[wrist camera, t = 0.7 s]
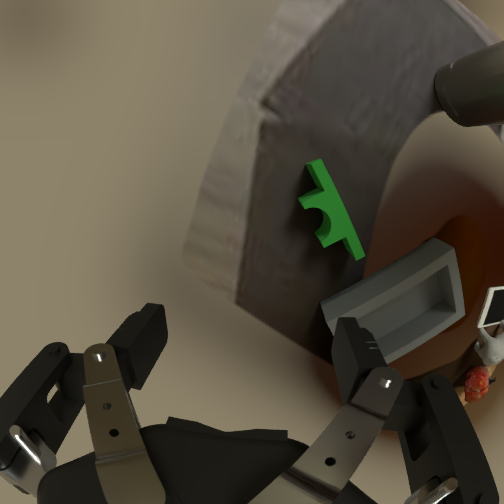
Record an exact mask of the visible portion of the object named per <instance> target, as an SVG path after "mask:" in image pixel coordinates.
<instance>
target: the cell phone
mask: <svg viewBox="0 0 504 504" xmlns="http://www.w3.org/2000/svg"><path fill="white" fill-rule="evenodd" d="M502 320H504V286H500V287H491V288H489V289H488V291H487V295H486V298H485V301H484V305H483V308H482V311H481V314H480V317H479V320H478V322H477V327H478V328H482V327H486V326H491V325H495V324H499V323H500V322H501V321H502Z"/></svg>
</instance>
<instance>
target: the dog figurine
mask: <svg viewBox="0 0 504 504" xmlns="http://www.w3.org/2000/svg"><path fill="white" fill-rule="evenodd" d="M499 325H500V326H499V327H501V328H502V329H503V333H502V334H500V335H497V336H496V337H495V338H493V337H491V336H489V335H488V334H487V333H486V331H485V330H484V328H483V327H482V328H480V330H479V334H480V335H481V337H482V339H483V341H484V346H483V347H482V348H480V347H479V342H477V343H476V344H475V346H474V349H475V350H476V352H477V353H478V354H479V356H480V357H481V358H482V361H483V363H484V364H485V365H487V366H491V365H495V364H499V363H500V362H501V360H504V320H502V321H501V322H500V323H499Z"/></svg>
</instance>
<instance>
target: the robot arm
mask: <svg viewBox="0 0 504 504" xmlns="http://www.w3.org/2000/svg"><path fill="white" fill-rule="evenodd" d="M435 90H436V94H437V97H438V99H439V102H440V104H441V106H442V108H443V109H444V111H445V112H446V114H447V115H448V116H449V117H450V118H451V119H452V120H453V121H454V122H456V123H457V124H459V125H461V126H465V127H472V126H483V125H498V124H504V41H501V42H499V43H496V44H494V45H491V46H489V47H486V48H484V49H481V50H479V51H477V52H474V53H472V54H470V55H467V56H465V57H463V58H460V59H458V60H456V61H454V62H451V63H449V64H447V65H445V66H443V67H441V68H440V69H439V70H438V72H437V73H436V77H435ZM167 338H168V330H167V323H166V316H165V309H164V306H163V305H162V304H154V303H147V304H146V305H145V306H144V307H143V308H142V309H141V311H140V312H135V313H133V314H132V315H130V316H129V317H128V318H127V319H126V320H125V321H124V322H123V324H121V326H120V327H119V328H118V329H117V330H116V331H115V333H114V334H113V335H112V336H111V337H110V338H109V339H108V341H107V342H106V343H105V344H104V343H99V344H95V345H92V346H90V347H88V348H87V349H86V350H85V352H84V353H70V352H69V349H68V346H67V345H66V344H64V343H62V342H54V343H51V344H48V345H47V346H45V347H44V348H43V349H42V350H41V352H40V353H39V354H38V355H37V356H36V357H35V358H34V359H33V360H32V361H31V362H30V364H29V365H28V366H27V367H26V368H25V369H24V370H23V371H22V373H21V374H20V375H19V376H18V377H17V378H16V380H15V381H14V382H13V383H12V384H11V385H10V387H9V388H8V389H7V390H6V392H5V393H4V394H3V395H2V397H1V398H0V476H2V477H3V478H4V479H5V480H6V481H7V482H9V483H10V484H12V485H13V486H15V487H16V488H17V489H18V490H20V491H21V492H22V493H25V494H31V495H33V496H34V497H36V498H37V504H377V503H376V502H375V501H374V500H372V499H371V498H370V497H369V496H367V495H366V494H365V493H364V492H363V491H361V490H360V489H359V488H358V487H357V486H355V485H354V484H353V483H352V482H350V481H349V479H350V478H351V477H352V475H353V474H354V472H355V471H356V469H357V468H358V466H359V465H360V463H361V462H362V460H363V459H364V457H365V456H366V454H367V452H368V451H369V449H370V448H371V446H372V444H373V443H374V441H375V439H376V437H377V436H378V434H379V432H380V430H381V429H384V430H391V431H397V432H398V435H399V439H400V443H401V448H402V452H403V456H404V460H405V465H406V470H407V475H408V479H409V485H410V489H411V496H410V497H408V499H407V500H406V501H405V503H404V504H499V495H498V491H497V487H496V484H495V481H494V479H493V476H492V473H491V470H490V467H489V464H488V462H487V459H486V456H485V454H484V452H483V449H482V447H481V444H480V442H479V439H478V437H477V435H476V433H475V430H474V428H473V426H472V424H471V421H470V419H469V417H468V415H467V413H466V411H465V409H464V407H463V405H462V403H461V401H460V399H459V397H458V395H457V393H456V391H455V389H454V387H453V386H452V384H451V382H450V381H449V380H448V379H447V378H446V377H444V376H442V375H440V374H429V375H427V376H425V377H424V379H423V380H422V382H421V383H416V382H409V381H404V380H403V378H402V375H401V374H400V373H399V372H398V371H396V370H395V369H392V368H389V367H388V366H387V363H386V361H385V359H384V357H383V355H382V353H381V351H380V348H379V346H378V344H377V343H376V340H375V338H374V336H373V334H372V333H371V332H370V331H368V330H367V329H366V328H360V326H359V324H358V322H357V320H356V318H355V317H339V318H338V320H337V324H336V329H335V334H334V338H333V343H332V349H331V355H332V361H333V365H334V369H335V373H336V377H337V382H338V386H339V391H340V395H341V400H342V405H343V407H342V409H341V410H340V411H339V413H338V414H337V415H336V416H335V418H334V419H333V420H332V421H331V423H330V424H329V425H328V426H327V427H326V429H325V430H324V431H323V432H322V433H321V435H320V436H319V437H318V438H317V439H316V441H315V442H314V443H313V444H312V445H311V446H310V447H309V446H308V445H306V444H304V443H302V442H299V441H296V440H293V439H289V438H287V437H288V436H287V435H288V434H287V432H288V431H287V430H268V429H252V430H244V431H233V432H224V431H220V430H218V429H215V428H212V427H209V426H206V425H204V424H201V423H199V422H195V421H189V420H184V419H179V418H174V417H169V418H168V420H167V422H166V424H156V425H151V426H147V427H143V428H141V425H140V423H139V420H138V417H137V415H136V412H135V409H134V407H133V404H132V401H131V398H130V395H129V391H130V389H131V388H134V389H138V390H141V388H142V387H143V385H144V383H145V381H146V379H147V377H148V375H149V374H150V372H151V370H152V368H153V367H154V365H155V363H156V361H157V360H158V358H159V356H160V354H161V352H162V351H163V349H164V347H165V345H166V343H167ZM54 385H56V387H57V388H58V390H57V392H56V393H55V394H54V396H53V397H52V399H51V400H50V401H49V403H47V395H48V393H49V391H50V390H51V389H52V387H53V386H54ZM84 404H85V406H86V412H87V418H88V424H89V429H90V434H91V438H92V443H93V447H94V451H93V452H91V453H89V454H87V455H85V456H82V457H80V458H77V459H75V460H73V461H70V462H68V463H65V464H63V465H60V466H58V467H56V463H57V461H56V456H55V455H56V453H57V451H58V449H59V448H60V446H61V444H62V442H63V440H64V438H65V437H66V435H67V433H68V431H69V429H70V428H71V426H72V424H73V422H74V421H75V419H76V417H77V416H78V414H79V412H80V410H81V409H82V407H83V405H84Z"/></svg>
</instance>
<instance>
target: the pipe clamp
mask: <svg viewBox="0 0 504 504" xmlns="http://www.w3.org/2000/svg"><path fill="white" fill-rule="evenodd" d="M305 165H306V167H307V169H308V170H309V172H310V174H311V176H312V178H313V180H314V182H315V184H316V186H317V188H316V189H314V190H312V191H310V192H308V193H306V194H304V195H302V196H300V197H298V200H299V202H300V204H301V205H302V206H303V207H304V209H307V208H312V207H315V208H320V209H321V210H322V213H323V222H322V225H321V227H320V228H319V229H318V230H317V231H315V234H316V236H317V238H318V239H319V241H320V242H321V244H322V246H323V247H324V248H325V247H327V246H329V245H331V244H333V243H335V242H337V241H339V240H341V239H342V241H343V243H344V245H345V248H346V249H347V251H348V252H349V253H350V254H351V255H352V256H353V257H354V259H355V260H356V261H357V260H359V259H361V258H363V257H364V256H365V254H364V252H363V249H362V247H361V244H360V242H359V239H358V237H357V234H356V232H355V230H354V227H353V225H352V223H351V221H350V218H349V216H348V214H347V212H346V209H345V207H344V205H343V203H342V201H341V198H340V196H339V194H338V192H337V190H336V188H335V186H334V184H333V182H332V180H331V178H330V176H329V174H328V172H327V170H326V168H325V166H324V164H323V162H322V160H321V159H319V160H313V161H311V162H309V163H307V164H305Z"/></svg>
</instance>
